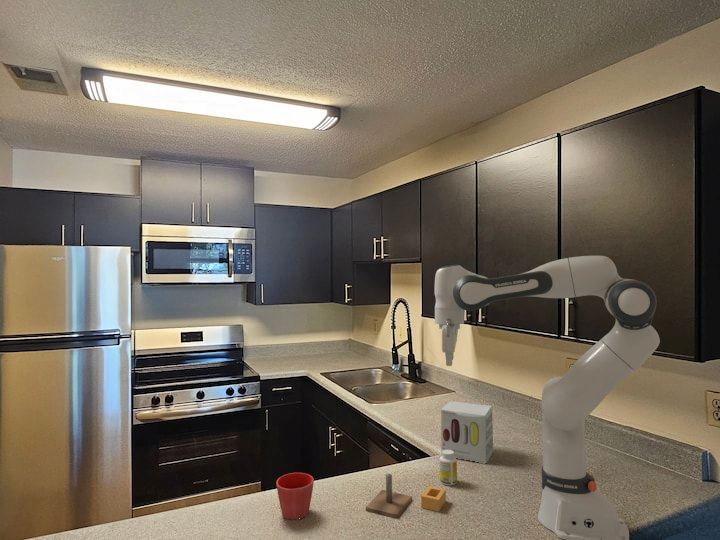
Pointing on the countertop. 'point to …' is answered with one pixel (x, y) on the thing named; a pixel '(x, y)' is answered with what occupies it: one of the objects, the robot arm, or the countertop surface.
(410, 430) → the countertop surface
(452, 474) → the supplement bottle
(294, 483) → the flower pot
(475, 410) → the supplement box
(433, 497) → the orange hollow square block
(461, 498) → the countertop surface
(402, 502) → the peg mounting plate
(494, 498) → the countertop surface
